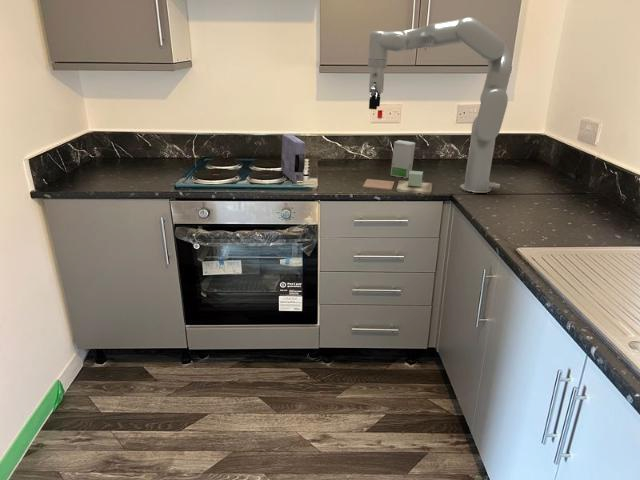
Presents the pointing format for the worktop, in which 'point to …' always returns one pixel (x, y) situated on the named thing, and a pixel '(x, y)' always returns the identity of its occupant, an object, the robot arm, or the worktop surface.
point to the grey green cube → (415, 178)
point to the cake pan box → (293, 157)
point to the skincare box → (402, 158)
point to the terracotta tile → (378, 184)
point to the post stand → (414, 188)
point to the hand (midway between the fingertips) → (374, 107)
